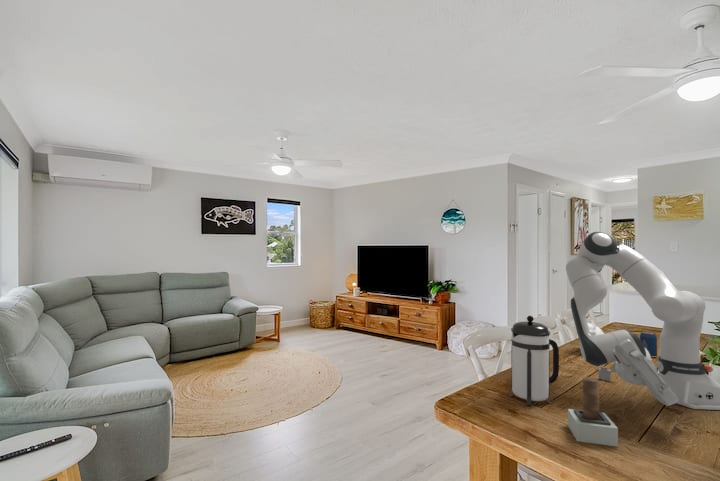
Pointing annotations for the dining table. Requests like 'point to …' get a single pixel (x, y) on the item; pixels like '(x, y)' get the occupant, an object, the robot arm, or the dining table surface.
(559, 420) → the dining table surface
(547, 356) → the coffee press
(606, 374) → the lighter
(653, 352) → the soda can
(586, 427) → the collar block
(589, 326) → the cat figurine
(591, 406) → the dowel
